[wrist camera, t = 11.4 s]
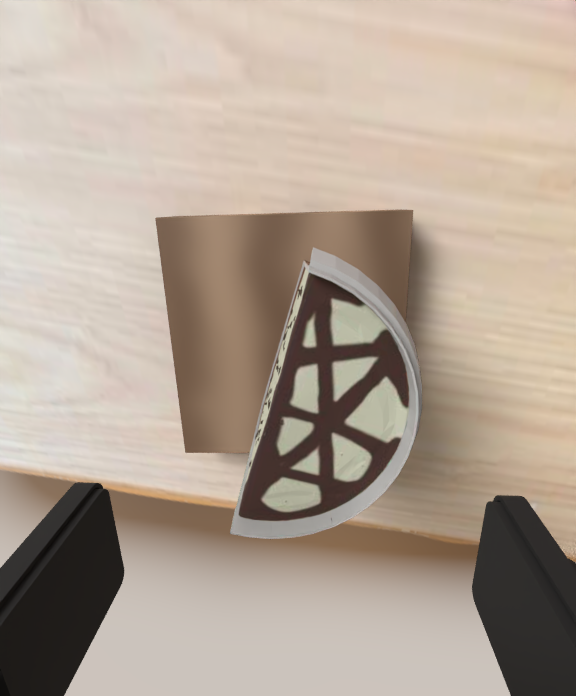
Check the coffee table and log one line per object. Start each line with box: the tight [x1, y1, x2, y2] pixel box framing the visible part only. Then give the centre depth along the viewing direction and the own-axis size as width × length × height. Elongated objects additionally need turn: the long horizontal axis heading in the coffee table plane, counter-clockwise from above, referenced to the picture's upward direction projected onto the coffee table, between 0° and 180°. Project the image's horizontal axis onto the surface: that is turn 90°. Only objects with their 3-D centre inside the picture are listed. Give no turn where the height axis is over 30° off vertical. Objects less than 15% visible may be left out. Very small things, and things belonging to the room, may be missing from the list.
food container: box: [230, 247, 422, 539], centre depth 20 cm, size 12×6×10 cm, turn 164°
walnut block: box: [156, 210, 413, 453], centre depth 27 cm, size 14×15×4 cm
